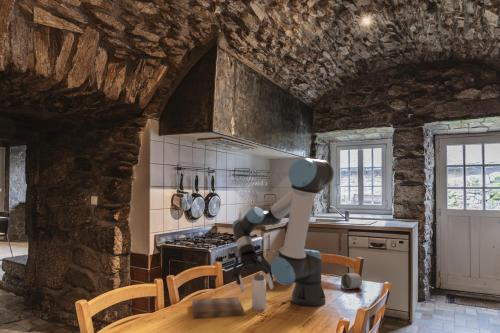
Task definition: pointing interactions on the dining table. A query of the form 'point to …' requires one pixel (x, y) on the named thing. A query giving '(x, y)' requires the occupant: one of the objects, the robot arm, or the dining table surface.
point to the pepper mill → (259, 292)
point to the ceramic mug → (351, 280)
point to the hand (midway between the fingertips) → (257, 289)
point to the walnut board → (217, 307)
